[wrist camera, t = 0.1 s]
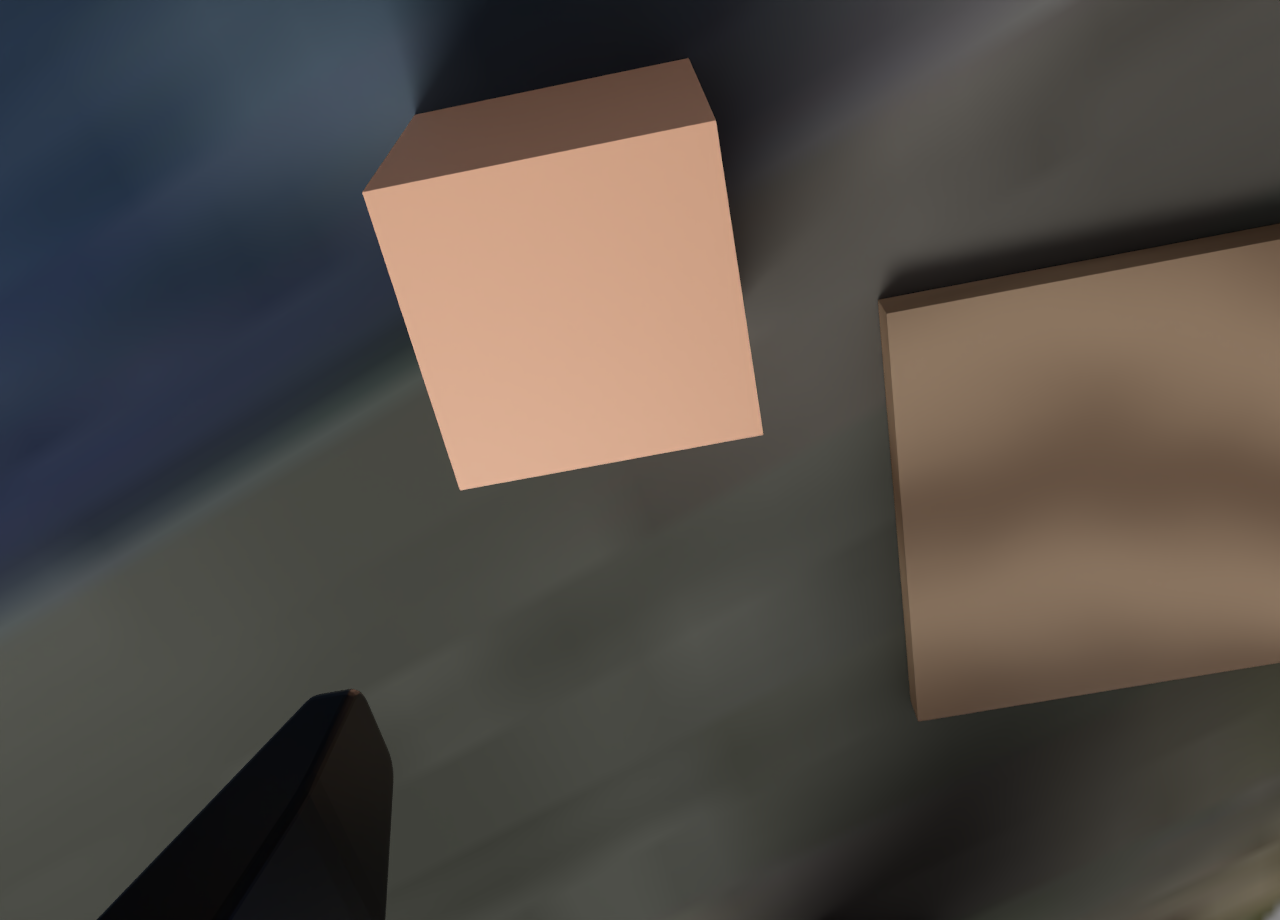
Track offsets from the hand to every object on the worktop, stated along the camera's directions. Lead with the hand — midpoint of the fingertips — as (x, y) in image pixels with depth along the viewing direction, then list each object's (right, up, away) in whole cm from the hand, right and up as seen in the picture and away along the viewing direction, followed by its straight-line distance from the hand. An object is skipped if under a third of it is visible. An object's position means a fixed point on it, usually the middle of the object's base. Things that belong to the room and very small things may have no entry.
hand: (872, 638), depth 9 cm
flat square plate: (+10, +1, +17) cm, 20 cm away
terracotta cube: (-3, +7, +13) cm, 15 cm away
